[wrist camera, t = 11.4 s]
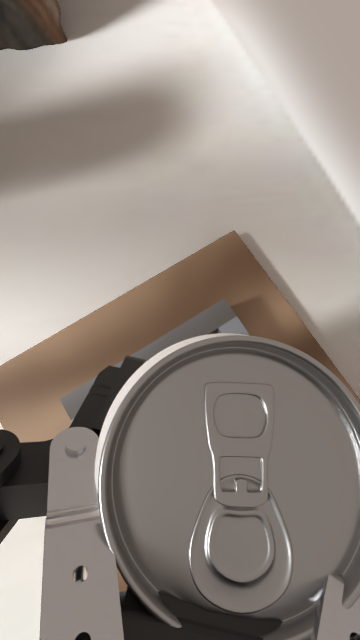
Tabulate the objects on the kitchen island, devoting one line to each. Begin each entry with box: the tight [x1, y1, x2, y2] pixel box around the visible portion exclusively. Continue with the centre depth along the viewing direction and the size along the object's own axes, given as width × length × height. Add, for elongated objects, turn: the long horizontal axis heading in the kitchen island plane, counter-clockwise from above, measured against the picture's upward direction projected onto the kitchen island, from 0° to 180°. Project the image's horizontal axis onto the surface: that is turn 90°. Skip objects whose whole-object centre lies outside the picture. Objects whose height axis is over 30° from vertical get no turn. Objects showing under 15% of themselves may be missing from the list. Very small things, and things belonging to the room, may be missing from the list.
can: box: [95, 333, 360, 640], centre depth 12 cm, size 6×6×12 cm
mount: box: [0, 230, 360, 592], centre depth 18 cm, size 18×18×4 cm
